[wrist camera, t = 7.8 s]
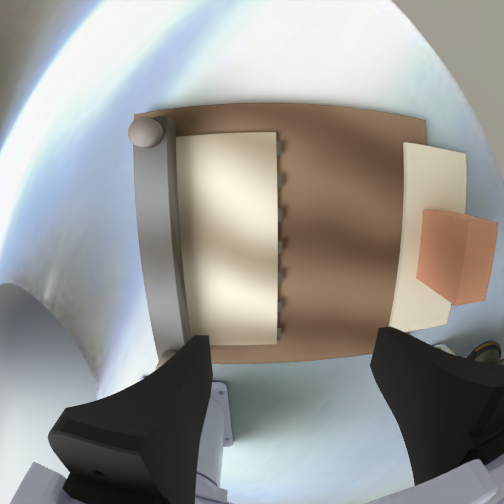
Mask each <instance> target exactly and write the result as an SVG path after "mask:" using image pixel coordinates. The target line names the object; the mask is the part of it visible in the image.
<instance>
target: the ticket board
mask: <svg viewBox="0 0 504 504" xmlns="http://www.w3.org/2000/svg"><path fill="white" fill-rule="evenodd" d="M128 137H129V140H130V141H131V143H132V144H133V152H134V185H135V202H136V216H137V227H138V238H139V247H140V256H141V264H142V271H143V278H144V285H145V292H146V298H147V304H148V309H149V315H150V320H151V326H152V331H153V336H154V341H155V345H156V350H157V354H158V359H159V362H158V364H157V367H156V369H158V368H159V367H160V366H162V365H163V364H164V363H165V362H167V361H168V360H169V359H170V358H171V357H172V356H173V355H174V354H175V353H176V352H177V351H178V350H179V349H180V348H181V347H183V346H184V344H185V343H186V342H187V341H188V340H189V339H191V338H192V337H193V336H194V335H209V340H210V351H211V362H212V364H258V363H283V362H299V361H313V360H324V359H334V358H343V357H351V356H359V355H366V354H373V352H374V347H375V343H376V338H377V334H378V329H379V328H382V327H389V322H390V316H391V311H392V305H393V299H394V293H395V287H396V280H397V272H398V264H399V255H400V245H401V234H402V219H403V197H404V152H403V143H404V142H408V143H414V144H420V145H426V146H427V131H426V120H422V119H417V118H412V117H407V116H402V115H397V114H391V113H385V112H379V111H372V110H365V109H357V108H349V107H339V106H328V105H315V104H295V103H237V104H217V105H204V106H193V107H183V108H174V109H167V110H159V111H153V112H146V113H140V114H134V121H133V122H132V123H131V125H130V127H129V130H128ZM405 333H407V334H409V331H408V332H405Z"/></svg>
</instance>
